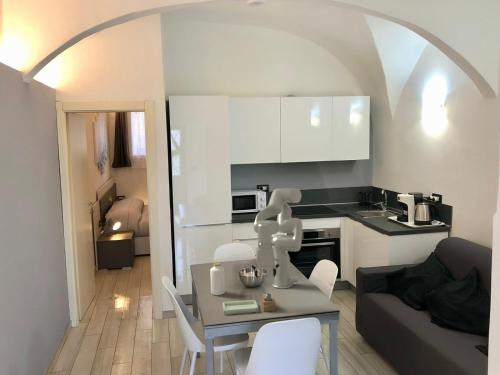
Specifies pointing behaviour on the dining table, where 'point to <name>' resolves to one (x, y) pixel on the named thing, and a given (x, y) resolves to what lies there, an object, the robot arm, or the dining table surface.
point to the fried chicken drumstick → (268, 304)
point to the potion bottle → (217, 279)
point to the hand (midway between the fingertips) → (265, 276)
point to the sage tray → (240, 307)
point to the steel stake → (268, 297)
